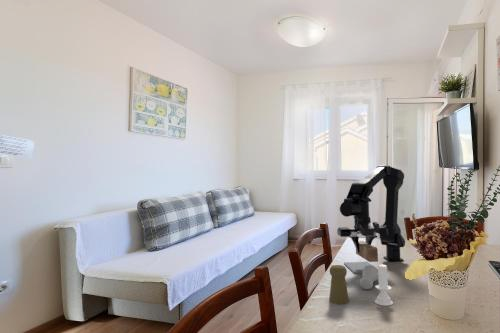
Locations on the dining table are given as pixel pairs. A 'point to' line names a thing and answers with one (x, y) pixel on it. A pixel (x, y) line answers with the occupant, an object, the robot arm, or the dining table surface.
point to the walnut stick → (368, 252)
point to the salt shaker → (368, 276)
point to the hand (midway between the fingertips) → (362, 252)
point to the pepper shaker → (338, 285)
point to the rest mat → (356, 266)
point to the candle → (383, 287)
